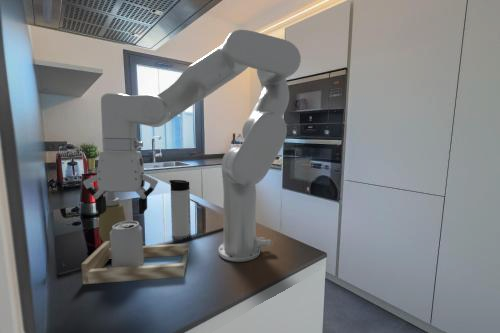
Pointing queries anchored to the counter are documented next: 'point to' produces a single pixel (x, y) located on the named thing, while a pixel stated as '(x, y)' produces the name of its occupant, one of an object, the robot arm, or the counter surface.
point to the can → (126, 244)
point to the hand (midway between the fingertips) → (122, 212)
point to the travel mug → (180, 209)
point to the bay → (100, 257)
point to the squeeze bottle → (110, 216)
